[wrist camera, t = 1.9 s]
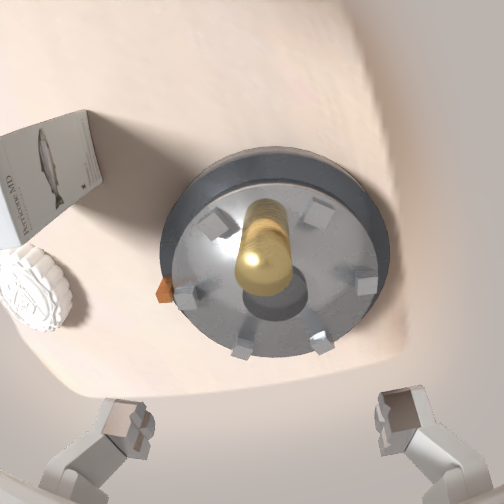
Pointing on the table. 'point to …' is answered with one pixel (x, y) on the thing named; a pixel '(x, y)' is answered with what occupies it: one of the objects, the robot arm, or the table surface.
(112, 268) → the table surface
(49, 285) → the mooncake
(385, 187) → the table surface
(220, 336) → the studded round base
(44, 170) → the supplement box
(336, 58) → the table surface
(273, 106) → the table surface
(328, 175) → the grey round platform
